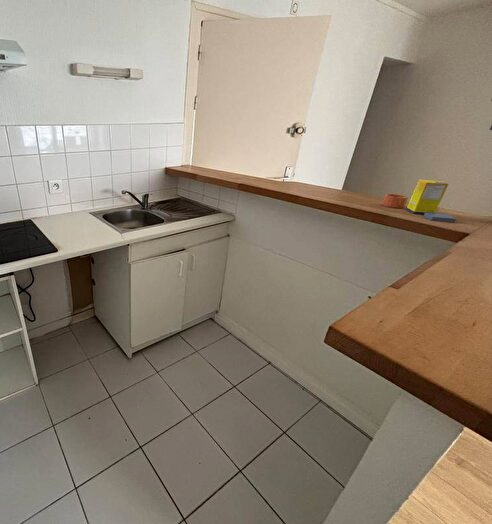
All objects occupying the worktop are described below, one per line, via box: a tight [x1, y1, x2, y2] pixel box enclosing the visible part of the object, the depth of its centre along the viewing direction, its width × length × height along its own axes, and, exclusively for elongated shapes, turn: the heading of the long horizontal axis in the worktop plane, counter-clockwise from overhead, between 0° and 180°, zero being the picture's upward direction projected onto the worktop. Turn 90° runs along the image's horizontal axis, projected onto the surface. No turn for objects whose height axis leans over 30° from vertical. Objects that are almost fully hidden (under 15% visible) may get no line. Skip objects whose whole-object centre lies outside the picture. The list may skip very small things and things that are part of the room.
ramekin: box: [381, 193, 409, 209], centre depth 106 cm, size 7×7×4 cm
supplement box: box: [405, 179, 450, 215], centre depth 97 cm, size 6×6×11 cm
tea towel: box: [423, 213, 457, 223], centre depth 93 cm, size 6×5×1 cm
